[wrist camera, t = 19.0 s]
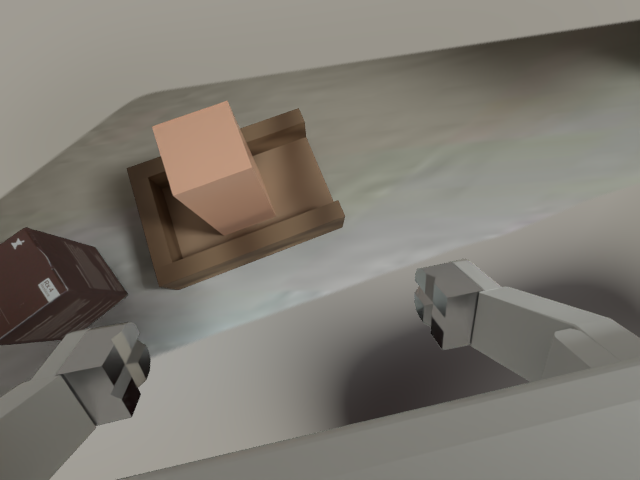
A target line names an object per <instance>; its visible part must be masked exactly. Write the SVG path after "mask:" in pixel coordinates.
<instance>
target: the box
mask: <svg viewBox="0 0 640 480" xmlns="http://www.w3.org/2000/svg"><path fill="white" fill-rule="evenodd" d="M126 296H128V294H127V292H126V291H125V290H124V288H123V287H122V285H121V284H120V282H119V281H118V279H117V278H116V277H115V275H114V274H113V272H112V271H111V269H110V268H109V267H108V265H107V264H106V262H105V261H104V259H103V258H102V256H101V255H100V254H99V252H98V251H97V249H96V248H95V247H93V246H89V245H85V244H82V243H78V242H75V241H72V240H68V239H65V238H61V237H57V236H54V235H51V234H47V233H44V232H41V231H37V230H32V229H30V228H27V227H26V228H23V229H22V230H20V231H19V232H17V233H16V234H14V235H13V236H12V237H10V238H9V239H7V240H6V241H5V242H3V243H2V244H0V345H11V344H21V343H31V342H43V341H54V340H63V338H64V337H65V336H66V335H67V334H69V333H71V332H73V331H79V330H84V329H86V328H87V327H88V326H89V325H90V324H92V323H93V322H94V321H95V320H97V319H98V318H99V317H101V316H102V315H103V314H105V313H106V312H107V311H109V310H110V309H111V308H112V307H114V306H115V305H116V304H118V303H119V302H121V301H122V300H123V299H125V298H126Z"/></svg>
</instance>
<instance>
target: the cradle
mask: <svg viewBox="0 0 640 480" xmlns="http://www.w3.org/2000/svg"><path fill="white" fill-rule="evenodd" d="M240 130H241V132H242V134H243V136H244V139H245V141H246V143H247V145H248V148H249V150H250V152H251V154H252V156H253V159H254V161H255V163H256V165H257V167H258V170H259V172H260V175H261V178H262V180H263V183H264V186H265V188H266V191H267V194H268V196H269V199H270V202H271V204H272V207H273V210H274V212H275V215H276V217H273V218H270V219H268V220H265V221H262V222H260V223H257V224H254V225H251V226H249V227H246V228H243V229H241V230H238V231H235V232H233V233H230V234H227V235H225V236H224V235H223V234H221V233H220V232H219V231H217V230H216V229H215V228H214V227H212V226H211V225H210V224H208V223H207V222H206V221H205V220H203V219H202V218H201V217H199V216H198V215H197V214H196V213H194V212H193V211H192V210H191V209H189V208H188V207H187V206H185V205H184V204H183V203H182V202H180V201H179V200H178V199H176V198H175V197H174V196H173V194H172V191H171V187H170V184H169V181H168V178H167V174H166V171H165V168H164V164H163V161H162V158H161V157H158V158H155V159H152V160H149V161H146V162H143V163H141V164H138V165H135V166H132V167H129V168H127V171H128V175H129V178H130V182H131V186H132V189H133V193H134V197H135V200H136V204H137V208H138V211H139V215H140V219H141V222H142V226H143V230H144V233H145V237H146V240H147V244H148V248H149V251H150V255H151V259H152V262H153V266H154V270H155V273H156V277H157V281H158V284H159V287H164V288H170V289H176V290H180V289H182V288H185V287H188V286H190V285H193V284H196V283H198V282H201V281H203V280H206V279H209V278H211V277H214V276H216V275H219V274H222V273H224V272H227V271H229V270H232V269H235V268H237V267H240V266H242V265H245V264H248V263H250V262H253V261H256V260H258V259H261V258H263V257H266V256H269V255H271V254H274V253H276V252H279V251H282V250H284V249H287V248H289V247H292V246H295V245H297V244H300V243H302V242H305V241H308V240H310V239H313V238H316V237H318V236H321V235H323V234H326V233H329V232H331V231H334V230H336V229H339V228H342V227H343V223H344V218H345V215H344V212H343V210H342V208H341V206H340V203H339V201H338V200H337V201H335V202H333V199H332V197H331V194H330V192H329V190H328V187H327V185H326V183H325V180H324V178H323V176H322V173H321V171H320V169H319V166H318V164H317V162H316V159H315V157H314V155H313V152H312V150H311V147H310V145H309V143H308V140H307V138H306V131H305V122H304V119H303V117H302V115H301V112H300V110H299V108H298V109H295V110H292V111H289V112H286V113H284V114H281V115H278V116H275V117H272V118H269V119H266V120H264V121H261V122H258V123H255V124H252V125H249V126H246V127H244V128H241V129H240Z"/></svg>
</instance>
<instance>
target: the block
mask: <svg viewBox="0 0 640 480" xmlns="http://www.w3.org/2000/svg"><path fill="white" fill-rule="evenodd" d="M152 128H153V131H154V135H155V138H156V141H157V145H158V148H159V151H160V154H161V158H162V161H163V164H164V168H165V171H166V174H167V178H168V181H169V184H170V187H171V191H172V194H173V196H174V197H175V198H176V199H178V200H179V201H180V202H182V203H183V204H184V205H185V206H187V207H188V208H189V209H191V210H192V211H193V212H194V213H196V214H197V215H198V216H199V217H201V218H202V219H203V220H205V221H206V222H207V223H208V224H210V225H211V226H212V227H214V228H215V229H216V230H217V231H219V232H220V233H221V234H223V235H224V236H225V235H227V234H230V233H233V232H235V231H238V230H241V229H243V228H246V227H249V226H251V225H254V224H257V223H260V222H262V221H265V220H268V219H270V218H273V217H276V215H275V212H274V210H273V207H272V204H271V202H270V199H269V196H268V194H267V191H266V188H265V186H264V183H263V180H262V178H261V175H260V172H259V170H258V167H257V165H256V163H255V161H254V159H253V156H252V154H251V152H250V150H249V148H248V145H247V143H246V141H245V139H244V136H243V134H242V132H241V130H240V128H239V125H238V123H237V121H236V119H235V116H234V114H233V112H232V110H231V108H230V105H229V103H228V101H225V102H222V103H219V104H216V105H214V106H211V107H208V108H205V109H202V110H199V111H196V112H193V113H190V114H187V115H184V116H181V117H178V118H175V119H172V120H170V121H167V122H164V123H161V124H158V125H155V126H152Z"/></svg>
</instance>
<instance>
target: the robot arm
mask: <svg viewBox="0 0 640 480" xmlns="http://www.w3.org/2000/svg"><path fill="white" fill-rule="evenodd" d="M415 275H416V276H415V281H416V283H418V285H419V287H418V289H417V290H416V292H415V306H416V310H417V313H418V315H419V317H420V318H421V320H422V322H423V323H424V324H426V325H429V326H431V335H432V336H433V338H434V339H435V341H436V342H437V343H438V345H439V346H440V347H441V349H442V350H445V349H451V348H456V347H461V346H466V345H471V346H472V347H473V348H475V349H477V350H478V351H480V352H482V353H483V354H485V355H487V356H488V357H490V358H492V359H493V360H495V361H497V362H498V363H500V364H502V365H503V366H505V367H507V368H508V369H510V370H512V371H513V372H515V373H517V374H519V375H520V376H522V377H523V378H525V379H527V380H528V381H530V383H526V384H522V385H517V386H513V387H509V388H505V389H500V390H496V391H492V392H487V393H483V394H479V395H475V396H471V397H467V398H462V399H458V400H454V401H449V402H445V403H441V404H436V405H432V406H428V407H424V408H420V409H415V410H411V411H407V412H402V413H399V414H394V415H389V416H386V417H381V418H377V419H372V420H368V421H364V422H360V423H355V424H351V425H347V426H343V427H338V428H335V429H330V430H326V431H322V432H317V433H313V434H309V435H304V436H300V437H296V438H292V439H288V440H283V441H279V442H275V443H271V444H266V445H262V446H258V447H253V448H249V449H245V450H241V451H236V452H232V453H228V454H224V455H219V456H215V457H211V458H207V459H202V460H198V461H194V462H189V463H185V464H181V465H177V466H173V467H169V468H164V469H160V470H156V471H152V472H147V473H143V474H138V475H134V476H130V477H126V478H121V479H117V480H640V338H639V337H637V336H636V335H634V334H633V333H631V332H630V331H628V330H627V329H625V328H624V327H622V326H621V325H619V324H618V323H616V322H615V321H613V320H612V319H610V318H607V317H603V316H601V315H597V314H594V313H591V312H587V311H585V310H581V309H578V308H575V307H572V306H569V305H565V304H562V303H559V302H556V301H552V300H549V299H546V298H543V297H540V296H536V295H533V294H530V293H527V292H523V291H520V290H517V289H514V288H511V287H501V286H500V285H499V284H497V283H496V282H495V281H494V280H493V279H491V278H490V277H489V276H488V275H486V274H485V273H484V272H483V271H482V270H480V269H479V268H478V267H477V266H475V265H474V264H473V263H472V262H470V261H469V260H467V259H461V260H456V261H452V262H449V263H444V264H439V265H434V266H429V267H424V268H419V269H417V271H416V274H415ZM139 334H140V332H139V330H138V328H137V326H136V325H135V324H134V323H132V322H126V323H120V324H114V325H108V326H102V327H95V328H92V329H84V330H79V331H73V332H71V333H69V334H67V335H66V336H65V337H64V338H63V340H62V341H61V342H60V343H59V345H58V346H57V347H56V348H55V350H54V351H53V352H52V354H51V355H50V356H49V357H48V359H47V360H46V361H45V362H44V364H43V365H42V366H41V367H40V369H39V370H38V371H37V372H36V374H35V375H34V376H33V378H32V379H31V380H30V381H28V382H23V383H21V384H20V385H18V386H17V387H15V388H14V389H12V390H11V391H9V392H8V393H6V394H5V395H3V396H2V397H0V480H49V479H50V478H51V477H52V476H53V475H54V474H55V472H56V471H57V470H58V469H59V468H60V467H61V466H62V465H63V464H64V462H66V460H67V459H68V458H69V457H70V456H71V455H72V454H73V453H74V452H75V451H76V449H77V448H78V447H79V446H80V445H81V444H82V443H83V442H84V441H85V440H86V438H87V437H88V436H89V435H90V434H91V433H92V432H93V431H94V430H95V428H96V426H98V425H102V424H105V423H110V422H114V421H118V420H122V419H127V418H131V417H132V415H133V413H134V410H135V408H136V405H137V403H138V400H139V398H140V395H141V394H140V391H139V390H138V387H139V386H140V385H141V384H143V383H144V382H145V381H146V379H147V377H148V374H149V371H150V355H149V351H148V349H147V347H146V345H145V344H143V343H141V342H140V341H138V340H137V339H138V336H139Z"/></svg>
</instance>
